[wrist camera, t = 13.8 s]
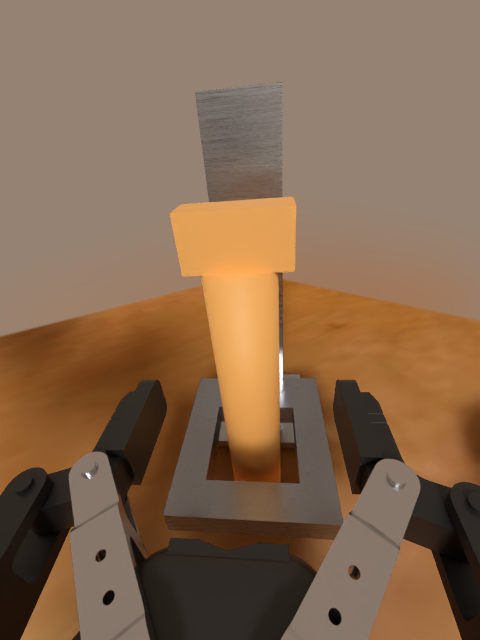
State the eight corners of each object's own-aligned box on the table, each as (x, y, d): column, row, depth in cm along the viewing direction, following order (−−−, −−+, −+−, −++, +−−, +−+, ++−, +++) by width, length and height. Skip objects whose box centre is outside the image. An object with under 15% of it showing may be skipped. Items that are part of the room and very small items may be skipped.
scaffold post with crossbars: (332, 572, 17) (478, -40, 4) (184, 561, 18) (-55, 39, 5) (295, 318, 41) (301, 107, 28) (231, 320, 42) (209, 117, 29)
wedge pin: (226, 514, 20) (162, 219, 10) (231, 469, 23) (186, 200, 12) (290, 517, 20) (298, 210, 9) (287, 471, 22) (291, 192, 12)
